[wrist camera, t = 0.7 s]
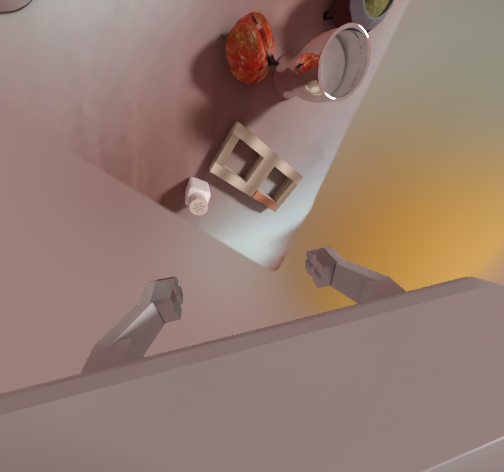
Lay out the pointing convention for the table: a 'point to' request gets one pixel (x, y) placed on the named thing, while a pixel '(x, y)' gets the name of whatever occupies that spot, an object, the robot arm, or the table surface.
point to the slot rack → (254, 168)
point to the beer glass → (325, 66)
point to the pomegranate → (250, 48)
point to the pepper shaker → (197, 196)
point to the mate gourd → (359, 12)
